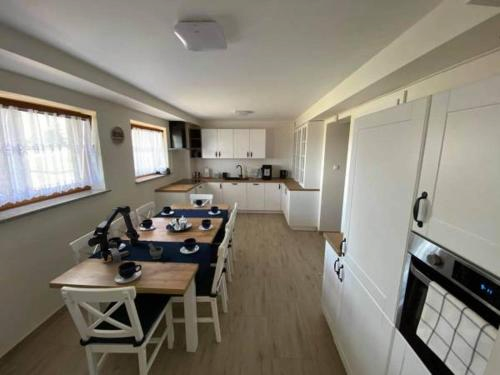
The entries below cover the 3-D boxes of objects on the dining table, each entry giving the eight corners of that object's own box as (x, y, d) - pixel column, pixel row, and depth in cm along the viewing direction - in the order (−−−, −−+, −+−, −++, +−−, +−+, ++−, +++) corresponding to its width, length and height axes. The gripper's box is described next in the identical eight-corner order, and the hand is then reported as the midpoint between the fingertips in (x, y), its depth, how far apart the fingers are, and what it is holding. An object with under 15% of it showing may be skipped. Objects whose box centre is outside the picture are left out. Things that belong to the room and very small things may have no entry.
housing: (116, 253, 177) (116, 247, 176) (121, 261, 166) (120, 254, 165) (109, 255, 174) (108, 249, 173) (113, 263, 162) (113, 256, 161)
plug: (127, 253, 178) (127, 249, 177) (128, 255, 174) (128, 251, 174) (101, 261, 165) (100, 257, 164) (102, 263, 162) (101, 259, 161)
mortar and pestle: (165, 254, 177) (164, 241, 174) (159, 260, 167) (158, 246, 165) (152, 254, 178) (151, 240, 175) (146, 259, 168) (145, 245, 166)
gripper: (118, 242, 161) (120, 260, 164) (113, 234, 174) (114, 252, 177) (100, 246, 154) (103, 265, 156) (96, 238, 167) (98, 256, 170)
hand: (105, 259), depth 165 cm, fingers closed on plug, 4 cm apart
